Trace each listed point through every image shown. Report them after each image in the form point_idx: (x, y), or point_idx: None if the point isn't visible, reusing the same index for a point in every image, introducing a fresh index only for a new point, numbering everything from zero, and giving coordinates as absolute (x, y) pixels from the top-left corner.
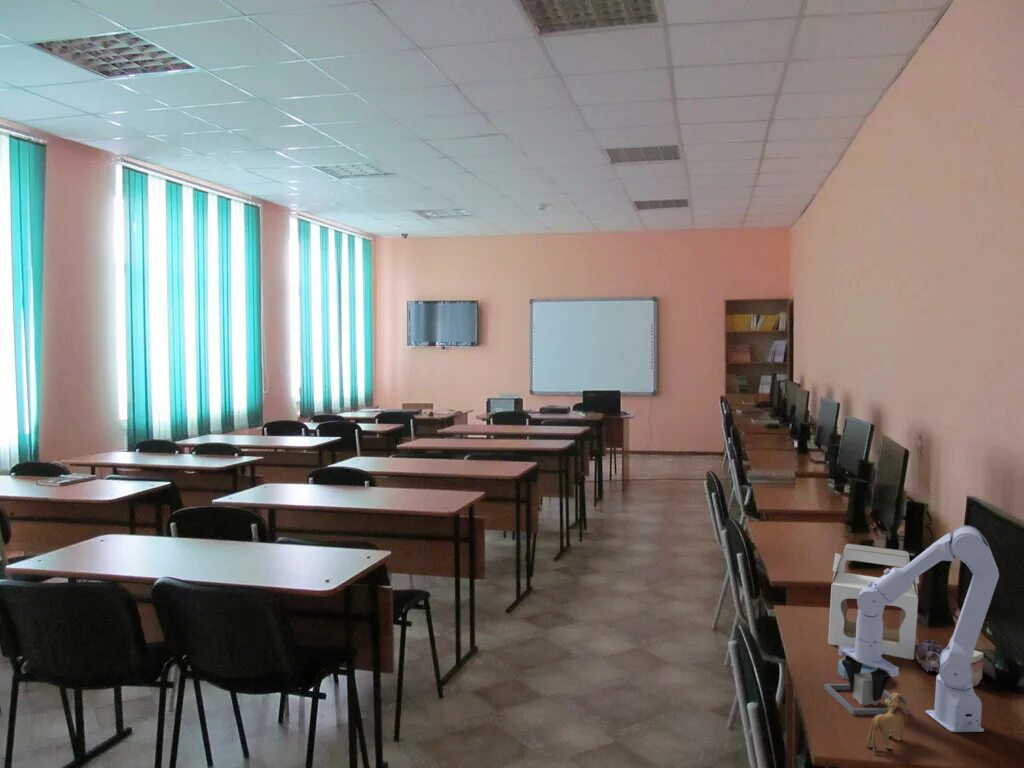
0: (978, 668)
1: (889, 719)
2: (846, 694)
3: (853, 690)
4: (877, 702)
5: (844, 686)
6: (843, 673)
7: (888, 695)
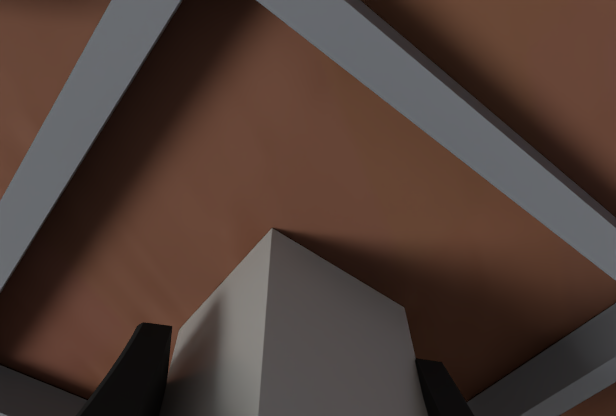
0: None
1: None
2: (104, 316)
3: (167, 390)
4: (404, 330)
5: (4, 283)
6: None
7: (468, 164)
